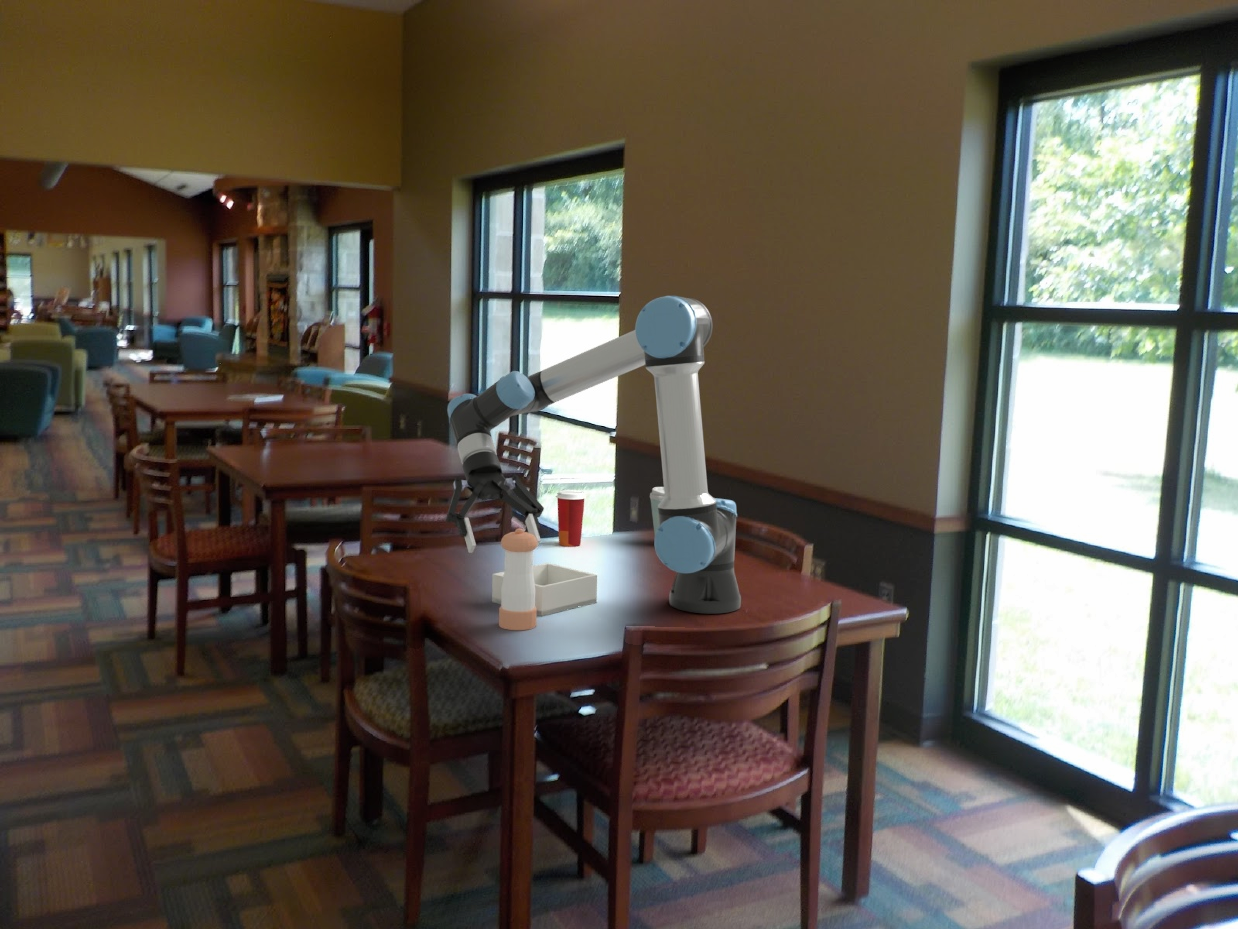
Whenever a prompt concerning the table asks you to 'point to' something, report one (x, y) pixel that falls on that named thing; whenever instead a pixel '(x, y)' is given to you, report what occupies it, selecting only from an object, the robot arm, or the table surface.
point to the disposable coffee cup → (656, 505)
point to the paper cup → (570, 517)
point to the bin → (555, 588)
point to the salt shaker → (518, 582)
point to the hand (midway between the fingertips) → (505, 546)
